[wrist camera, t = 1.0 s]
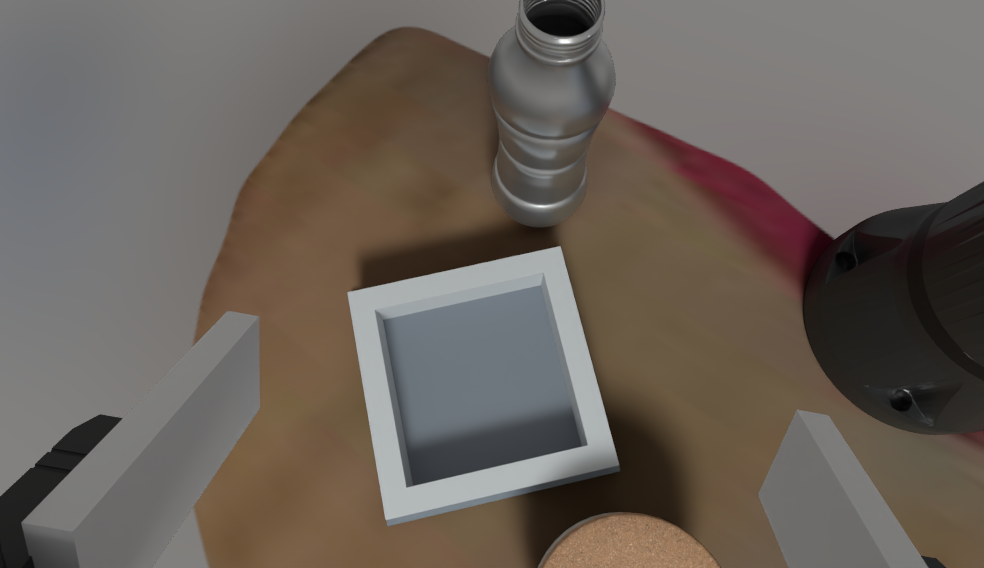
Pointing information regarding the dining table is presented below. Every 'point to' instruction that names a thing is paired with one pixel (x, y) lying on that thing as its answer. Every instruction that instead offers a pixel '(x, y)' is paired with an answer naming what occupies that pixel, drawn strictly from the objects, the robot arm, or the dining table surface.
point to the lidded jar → (626, 544)
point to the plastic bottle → (548, 107)
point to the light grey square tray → (478, 385)
